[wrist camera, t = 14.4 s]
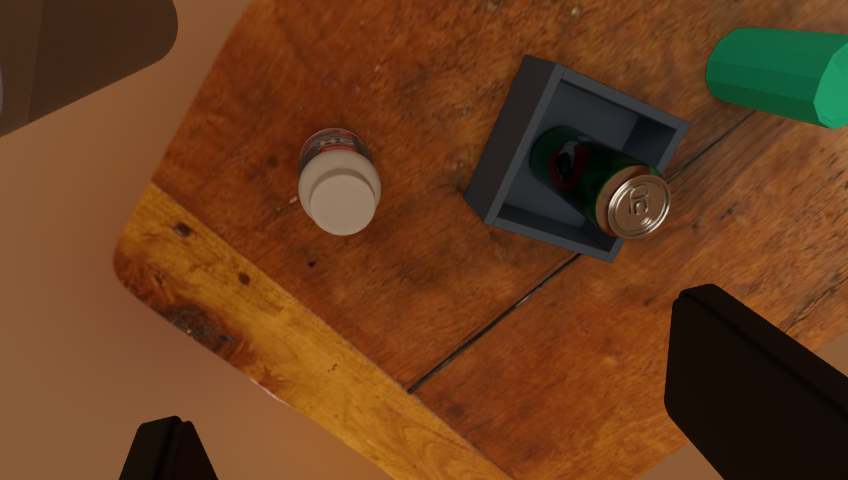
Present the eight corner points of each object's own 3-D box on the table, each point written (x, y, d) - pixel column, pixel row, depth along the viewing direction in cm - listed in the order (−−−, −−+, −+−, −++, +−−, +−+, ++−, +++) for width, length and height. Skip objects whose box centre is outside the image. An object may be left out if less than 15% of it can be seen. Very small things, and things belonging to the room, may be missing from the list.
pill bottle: (345, 112, 39) (358, 146, 30) (382, 171, 42) (404, 217, 33) (283, 150, 39) (279, 195, 31) (324, 206, 42) (330, 262, 33)
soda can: (532, 191, 44) (605, 254, 34) (524, 134, 42) (599, 182, 32) (588, 175, 45) (677, 231, 34) (583, 117, 43) (677, 158, 32)
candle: (694, 96, 45) (818, 129, 34) (722, 20, 42) (863, 30, 32) (752, 106, 46) (887, 140, 35) (781, 33, 44) (935, 46, 33)
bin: (462, 197, 44) (483, 223, 39) (525, 54, 40) (556, 63, 35) (580, 235, 48) (612, 263, 43) (647, 108, 44) (691, 123, 39)
